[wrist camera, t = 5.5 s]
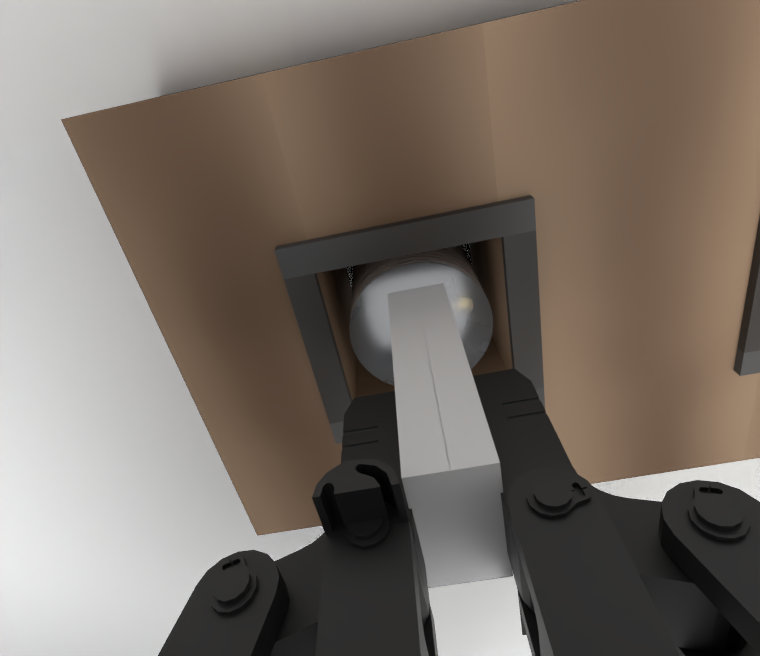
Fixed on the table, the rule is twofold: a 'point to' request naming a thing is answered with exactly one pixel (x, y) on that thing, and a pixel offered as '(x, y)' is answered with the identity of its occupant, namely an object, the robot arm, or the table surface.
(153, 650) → the table surface
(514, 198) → the walnut block
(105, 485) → the table surface
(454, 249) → the steel peg
